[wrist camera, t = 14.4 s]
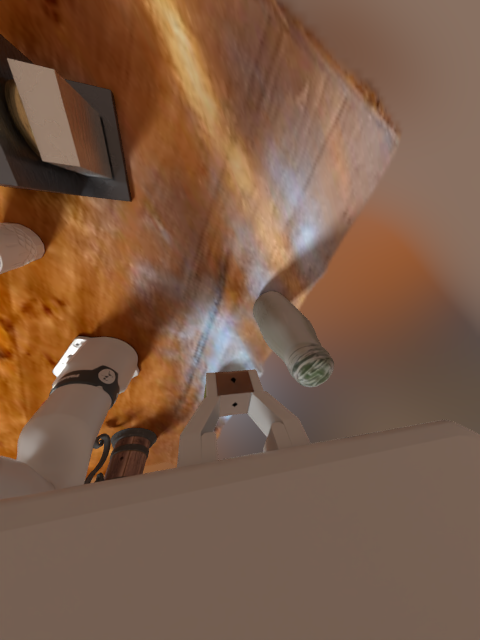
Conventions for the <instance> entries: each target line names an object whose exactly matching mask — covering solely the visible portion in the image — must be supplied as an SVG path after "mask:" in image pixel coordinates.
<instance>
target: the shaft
mask: <svg viewBox="0 0 480 640" xmlns="http://www.w3.org/2000/svg"><path fill="white" fill-rule="evenodd" d="M7 60H8V63H9V66H10V69H11V72H12V75H13V78H14V79H9V80H8V81H7V82H6V84H5V97H6V101H7V105H8V108H9V111H10V113H11V116H12V118H13V120H14V122H15V124H16V126H17V128H18V130H19V132H20V133H21V135H22V136H23V138H24V139H25V141H26V142H27V144H28V145H29V146H30V147H31V149H32V150H33V151H34V152H35V153H36V154H37V155H38V156H40V157H41V158H42V161H44V162H47V163H50V164H53V165H56V166H59V167H62V168H65V169H68V170H71V171H74V172H77V173H80V174H83V175H86V176H92V177H100V178H107V179H113V178H112V173H111V169H110V164H109V159H108V154H107V149H106V144H105V139H104V135H103V130H102V125H101V120H100V115H99V113H98V112H97V111H96V110H95V109H94V108H93V107H92V106H91V105H90V104H89V103H88V102H87V101H86V100H85V99H84V98H83V97H82V96H81V95H80V94H78V93H77V92H76V91H75V90H74V89H73V88H72V87H71V86H70V85H69V84H68V83H67V82H66V81H65V80H64V79H63V78H62V77H61V76H60V75H59V74H58V73H57V72H56V71H55V70H54V69H50V68H46V67H42V66H38V65H34V64H30V63H25V62H21V61H17V60H13V59H9V58H7Z"/></svg>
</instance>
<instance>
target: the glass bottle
mask: <svg viewBox="0 0 480 640" xmlns="http://www.w3.org/2000/svg"><path fill="white" fill-rule="evenodd" d="M253 315H254V318H255V320H256V322H257V324H258V326H259V328H260V331H261V333H262V335H263V338H264V340H265V341H266V343H267V344H268V346H269V347H270V348H271V349H272V350H273V351H274V352H275V353H276V354H277V355H278V356H279V357H280V358H281V359H282V360H283V361H284V363H285V364H286V365H287V367H288V370H289V372H290V374H291V375H292V377H293V378H294V379H295V380H296V381H297V382H299V383H300V384H301V385H302V386H307V387H315V386H318V385H320V384H322V383H323V382H325V381H326V380H327V379H328V378H329V377H330V375H331V374H332V372H333V368H334V362H333V359H332V358H331V356H330V355H329V353H328V352H327V351H326V350H325V349H324V348H323V347H322V346H321V344H320V342H319V340H318V338H317V336H316V333H315V330H314V328H313V326H312V325H311V323H310V321H309V320H308V319H307V318H306V317H305V316H304V315H302V313H301V312H300V311H299V310H298V309H297V308H296V307H295V306H294V305H293V304H291V303H290V302H289V301H288V300H287V299H286V298H285V297H284V296H283V295H282V294H280V293H278V292H275V291H269V292H266V293H264V294H262V295H261V296H260V297H259V298H258V299H257V300H256V302H255V304H254V307H253Z"/></svg>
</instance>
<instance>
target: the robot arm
mask: <svg viewBox="0 0 480 640" xmlns="http://www.w3.org/2000/svg"><path fill="white" fill-rule="evenodd" d="M137 363H138V356H137V353H136V351H135V350H134V349H133V348H132V347H131V346H130V345H129V344H127V343H125V342H123V341H121V340H119V339H115V338H111V337H96V338H90V337H84V336H78V337H76V338H75V339H74V341H73V342H72V344H71V345H70V346H69V348H68V349H67V351H66V352H65V354H64V355H63V356H62V358H61V359H60V361H59V362H58V364H57V365H56V366H55V368H54V369H53V373H54V375H55V376H56V377H57V378H56V380H55V381H54V382H53V384H52V386H53V388H52V390H51V392H50V395H49V397H48V399H47V400H46V401H45V402H44V403H43V404H42V405H41V407H40V408H39V409H38V411H37V412H36V413H35V414H34V415H33V417H32V418H31V419H30V420H29V422H28V423H27V424H26V425H25V426H24V428H23V430H22V432H21V434H20V436H19V440H18V454H17V459H16V460H14V459H11V458H8V457H4V456H0V640H480V435H479V434H477V433H476V432H474V431H472V430H469V429H467V428H466V427H464V426H462V425H459V424H457V423H455V422H453V421H449V420H441V421H435V422H429V423H423V424H418V425H412V426H407V427H401V428H395V429H390V430H385V431H379V432H373V433H368V434H362V435H357V436H352V437H346V438H340V439H335V440H329V441H323V442H318V443H312V444H311V443H310V441H309V439H308V437H307V435H306V433H305V431H304V428H303V426H302V424H301V422H300V420H299V419H298V418H297V417H296V416H295V415H293V413H291V412H290V411H289V410H288V409H286V408H285V407H284V406H283V405H282V404H281V403H279V402H278V401H277V400H276V399H275V398H273V397H272V396H271V395H270V394H269V393H268V392H266V391H263V388H262V385H261V383H260V380H259V377H258V374H257V372H256V370H243V371H231V372H215V373H206V397H205V398H204V399H203V401H202V402H201V404H200V405H199V407H198V409H197V410H196V412H195V413H194V415H193V416H192V418H191V419H190V421H189V422H188V424H187V426H186V427H185V429H184V430H183V432H182V433H181V435H180V443H179V453H178V463H177V468H173V469H168V470H161V471H156V472H150V473H145V474H139V475H134V476H128V477H123V478H117V479H111V480H106V481H100V482H95V483H89V484H84V482H85V478H86V473H87V469H88V465H89V461H90V457H91V453H92V449H93V446H94V443H95V440H96V437H97V435H98V433H99V430H100V428H101V426H102V424H103V422H104V419H105V417H106V415H107V413H108V410H109V409H110V408H111V407H112V406H113V404H114V403H115V401H116V399H117V397H118V394H120V393H122V392H124V391H125V390H126V388H127V386H128V384H129V383H130V381H131V379H132V378H133V377H135V376H137V375H138V374H139V369H138V366H137ZM244 413H248V415H249V416H250V417H251V418H252V420H253V421H254V422H255V423H256V424H257V426H258V427H259V428H260V429H261V430H262V432H263V433H264V434H265V435H266V436H267V440H266V443H265V446H264V449H263V452H262V453H256V454H251V455H245V456H239V457H234V458H228V459H223V460H218V454H217V440H216V434H215V433H214V432H213V430H214V428H215V426H216V424H217V421H218V419H219V417H221V416H228V415H234V414H244Z"/></svg>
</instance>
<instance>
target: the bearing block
mask: <svg viewBox="0 0 480 640" xmlns="http://www.w3.org/2000/svg"><path fill="white" fill-rule="evenodd" d="M7 58H9V59H13V60H17V61H21V62H25V63H30V64H33V63H32V62H31V61H30V60H29V59H28V58H27V57H25V56H24V55H23V54H22V53H21V52H20V51H19V50H18V49H17V48H15V47H14V46H13V45H12V44H11V43H10V42H9V41H8V40H6V39H5V38H4V37H3V36H2V35H1V34H0V186H4V187H12V188H21V189H29V190H37V191H46V192H54V193H63V194H71V195H80V196H88V197H97V198H105V199H114V200H122V201H131V195H130V189H129V183H128V177H127V171H126V166H125V160H124V154H123V148H122V142H121V137H120V131H119V125H118V119H117V113H116V108H115V102H114V96H113V93H112V91H111V90H109V89H104V88H100V87H96V86H92V85H87V84H83V83H79V82H74V81H70V80H66V79H64V80H65V81H66V82H67V83H68V84H69V85H70V86H71V87H72V88H73V89H74V90H75V91H76V92H77V93H78V94H80V95H81V96H82V97H83V98H84V99H85V100H86V101H87V102H88V103H89V104H90V105H91V106H92V107H93V108H94V109H95V110H96V111H97V112H98V113H99V115H100V120H101V125H102V130H103V135H104V139H105V144H106V149H107V154H108V159H109V164H110V169H111V173H112V178H113V179H107V178H100V177H92V176H86V175H83V174H80V173H77V172H74V171H71V170H68V169H65V168H62V167H59V166H56V165H53V164H50V163H47V162H44V161H42V158H41V157H40V156H38V155H37V154H36V153H35V152H34V151H33V150H32V149H31V147H30V146H29V145H28V144H27V142H26V141H25V139H24V138H23V136H22V135H21V133H20V132H19V130H18V128H17V126H16V124H15V122H14V120H13V118H12V116H11V113H10V111H9V108H8V105H7V101H6V97H5V84H6V82H7V81H8V80H9V79H14V78H13V75H12V72H11V69H10V66H9V63H8V60H7ZM131 202H132V201H131Z"/></svg>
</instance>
